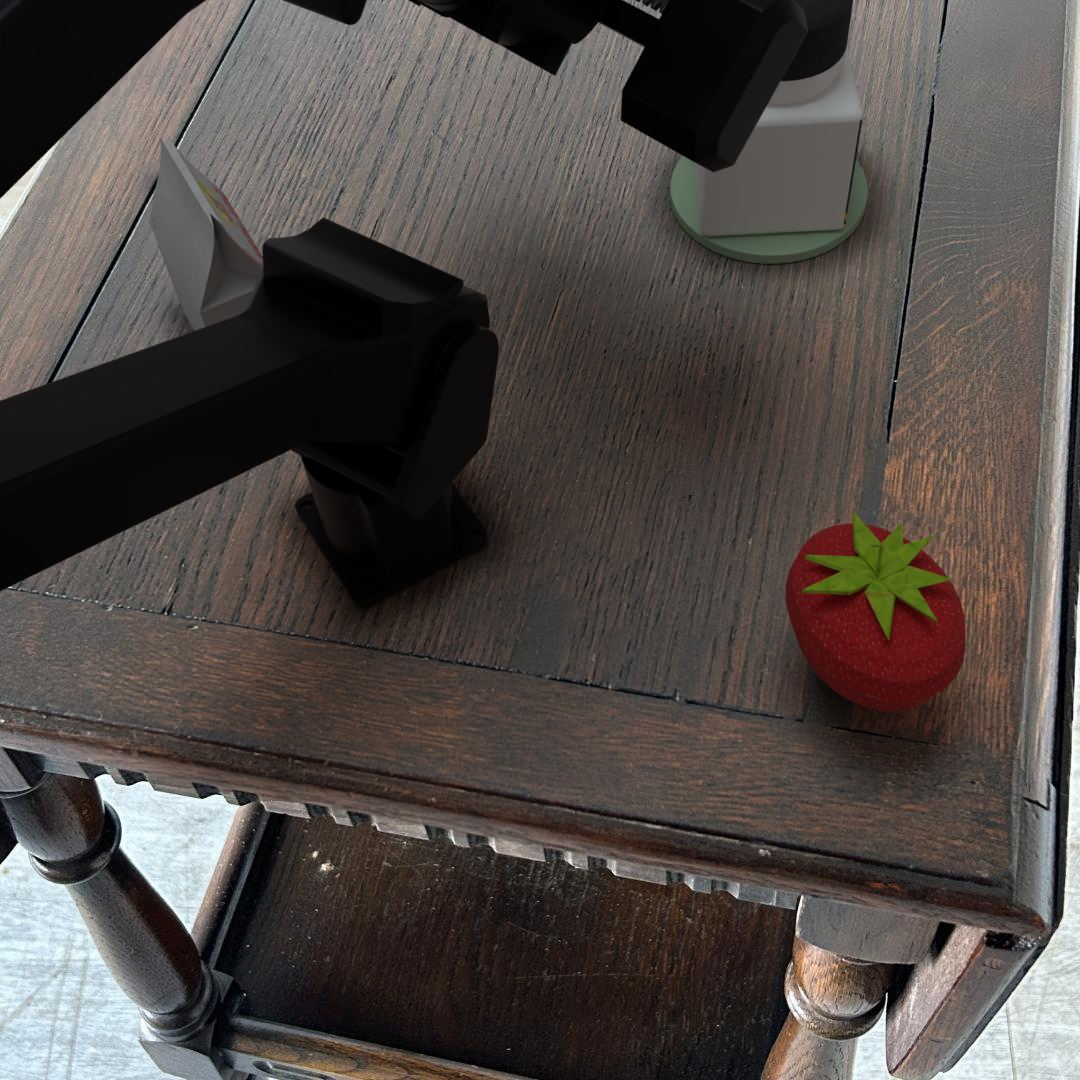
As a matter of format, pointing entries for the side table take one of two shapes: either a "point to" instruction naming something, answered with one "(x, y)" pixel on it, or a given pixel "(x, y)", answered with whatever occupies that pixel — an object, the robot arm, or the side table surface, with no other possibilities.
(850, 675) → the strawberry
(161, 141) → the tea bag
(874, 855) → the side table surface
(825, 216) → the medicine bottle
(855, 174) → the coaster
